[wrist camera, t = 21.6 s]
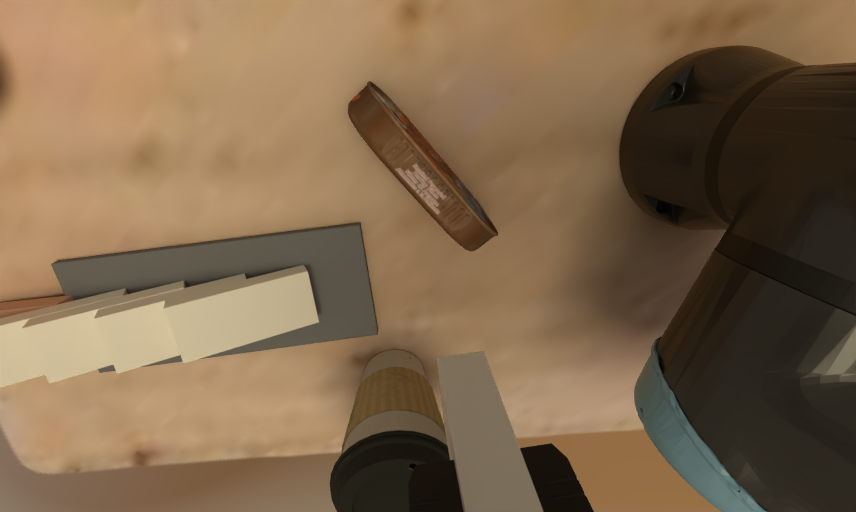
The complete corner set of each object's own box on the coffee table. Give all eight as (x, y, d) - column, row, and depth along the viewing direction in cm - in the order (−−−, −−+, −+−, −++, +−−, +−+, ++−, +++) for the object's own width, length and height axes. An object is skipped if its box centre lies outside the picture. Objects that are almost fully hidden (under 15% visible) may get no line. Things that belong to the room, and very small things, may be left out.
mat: (359, 222, 39) (359, 225, 38) (377, 330, 43) (377, 334, 42) (57, 260, 38) (51, 264, 37) (104, 367, 42) (99, 372, 41)
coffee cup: (330, 397, 45) (305, 535, 31) (368, 319, 43) (359, 433, 29) (417, 425, 48) (429, 565, 34) (458, 353, 45) (490, 474, 31)
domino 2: (122, 295, 37) (-49, 337, 33) (143, 346, 39) (-17, 392, 35) (125, 288, 38) (-38, 327, 34) (145, 337, 40) (-8, 380, 36)
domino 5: (307, 271, 38) (163, 308, 34) (319, 322, 39) (183, 363, 35) (303, 264, 39) (165, 299, 35) (314, 314, 41) (184, 352, 37)
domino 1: (55, 304, 37) (-73, 318, 37) (79, 355, 38) (-43, 368, 39) (71, 295, 38) (-51, 308, 38) (93, 344, 40) (-24, 356, 40)
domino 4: (246, 279, 37) (93, 318, 33) (260, 331, 39) (117, 373, 35) (244, 273, 39) (98, 309, 35) (258, 322, 41) (120, 362, 37)
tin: (488, 214, 40) (514, 245, 32) (462, 236, 41) (480, 272, 33) (374, 78, 35) (371, 75, 27) (345, 106, 36) (334, 110, 28)
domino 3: (183, 287, 37) (21, 328, 33) (201, 338, 39) (49, 383, 35) (184, 280, 39) (29, 318, 35) (200, 329, 40) (55, 371, 36)
